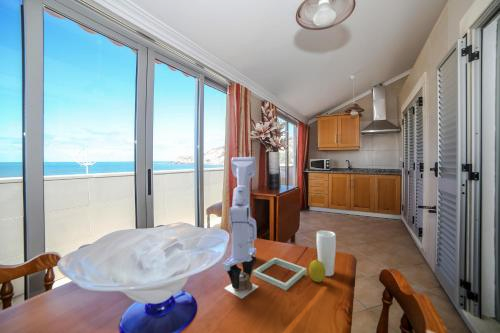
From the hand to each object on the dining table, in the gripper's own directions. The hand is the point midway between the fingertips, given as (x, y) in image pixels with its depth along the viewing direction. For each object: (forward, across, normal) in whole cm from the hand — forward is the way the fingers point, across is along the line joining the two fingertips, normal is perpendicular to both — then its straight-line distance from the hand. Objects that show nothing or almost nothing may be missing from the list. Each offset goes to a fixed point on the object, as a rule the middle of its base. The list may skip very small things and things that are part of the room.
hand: (241, 283), depth 69 cm
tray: (+2, +15, -6) cm, 16 cm away
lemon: (+3, +19, -18) cm, 26 cm away
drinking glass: (+3, +27, -19) cm, 33 cm away
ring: (+1, 0, 0) cm, 1 cm away
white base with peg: (+2, 0, 0) cm, 2 cm away
